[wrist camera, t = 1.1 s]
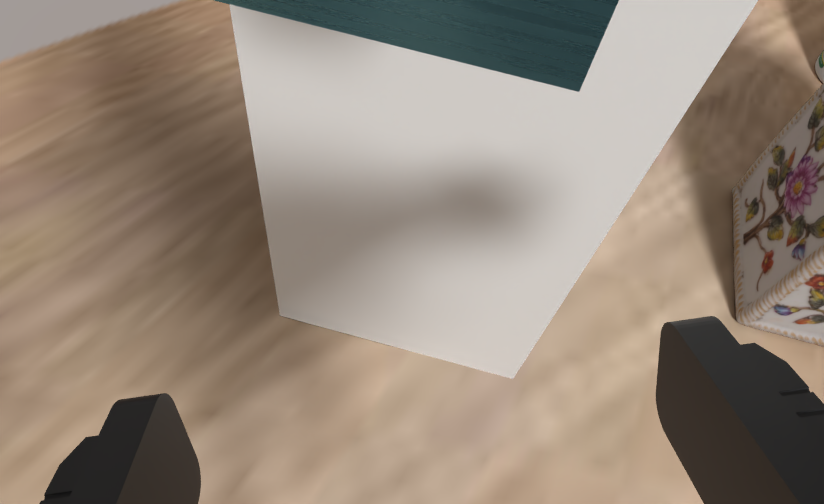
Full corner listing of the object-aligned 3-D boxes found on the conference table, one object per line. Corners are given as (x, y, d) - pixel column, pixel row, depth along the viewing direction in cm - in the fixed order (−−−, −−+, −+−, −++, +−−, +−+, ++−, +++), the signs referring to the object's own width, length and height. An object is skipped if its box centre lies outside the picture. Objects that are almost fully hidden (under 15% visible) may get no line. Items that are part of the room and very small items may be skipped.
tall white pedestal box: (512, 379, 37) (1108, -540, 9) (279, 315, 38) (108, -740, 9) (548, 171, 46) (907, -641, 17) (357, 122, 46) (394, -741, 18)
